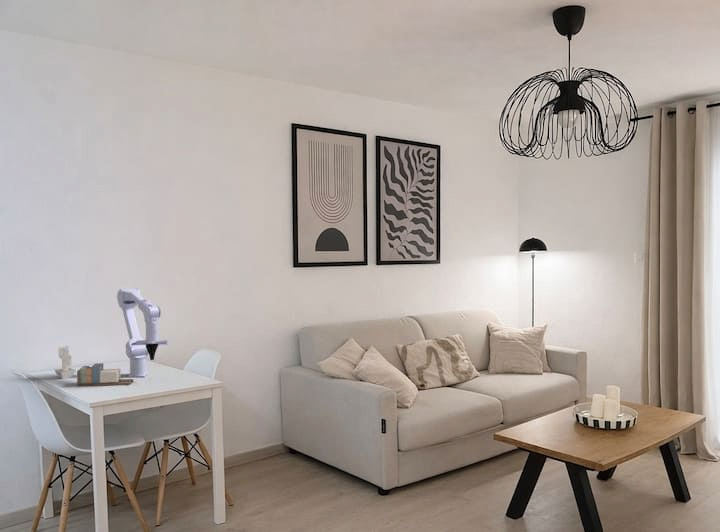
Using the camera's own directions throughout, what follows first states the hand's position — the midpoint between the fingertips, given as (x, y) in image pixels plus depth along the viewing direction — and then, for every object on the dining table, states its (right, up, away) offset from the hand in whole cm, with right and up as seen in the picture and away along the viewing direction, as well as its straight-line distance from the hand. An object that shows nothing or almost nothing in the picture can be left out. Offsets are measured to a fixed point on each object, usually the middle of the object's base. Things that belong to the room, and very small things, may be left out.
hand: (152, 359), depth 297 cm
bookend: (-17, -9, -7) cm, 21 cm away
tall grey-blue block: (-23, -9, -8) cm, 26 cm away
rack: (-20, -10, -8) cm, 23 cm away
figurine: (-44, -10, +6) cm, 46 cm away
